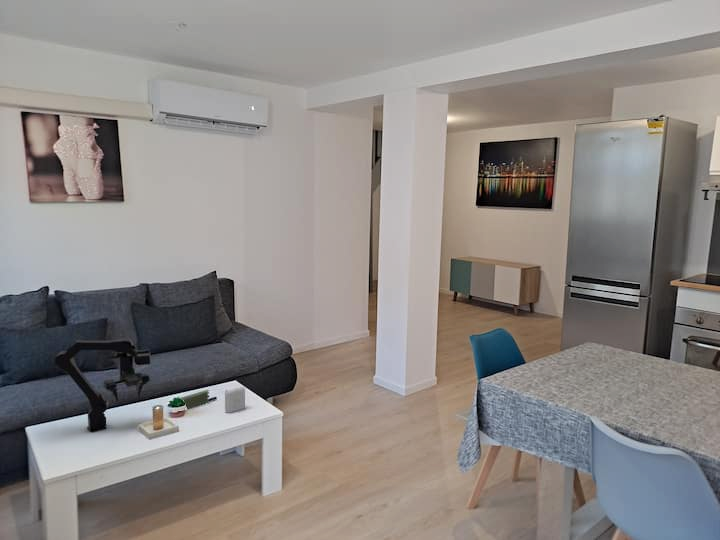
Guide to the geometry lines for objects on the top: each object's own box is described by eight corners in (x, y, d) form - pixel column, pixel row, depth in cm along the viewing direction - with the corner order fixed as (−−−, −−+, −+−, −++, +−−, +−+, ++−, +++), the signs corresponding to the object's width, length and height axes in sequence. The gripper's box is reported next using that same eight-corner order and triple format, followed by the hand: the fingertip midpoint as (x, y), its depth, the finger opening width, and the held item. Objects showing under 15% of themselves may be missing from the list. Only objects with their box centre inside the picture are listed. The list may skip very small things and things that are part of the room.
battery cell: (157, 431, 233) (157, 409, 232) (150, 429, 235) (150, 407, 234) (165, 427, 236) (165, 406, 235) (158, 425, 239) (158, 404, 237)
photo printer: (241, 406, 266) (241, 382, 265) (246, 408, 263) (246, 384, 262) (223, 411, 259) (223, 387, 258) (228, 414, 256) (227, 389, 255)
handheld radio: (170, 412, 257) (214, 399, 276) (174, 414, 255) (218, 401, 274) (170, 399, 256) (214, 387, 275) (174, 401, 254) (218, 388, 273)
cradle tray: (149, 439, 227) (149, 433, 226) (138, 429, 236) (138, 424, 236) (178, 431, 235) (178, 425, 235) (167, 422, 245) (166, 417, 245)
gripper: (110, 374, 226) (111, 409, 228) (153, 366, 239) (154, 399, 240) (102, 368, 234) (103, 402, 236) (144, 360, 247) (145, 393, 249)
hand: (127, 399), depth 240 cm, fingers open, 9 cm apart
